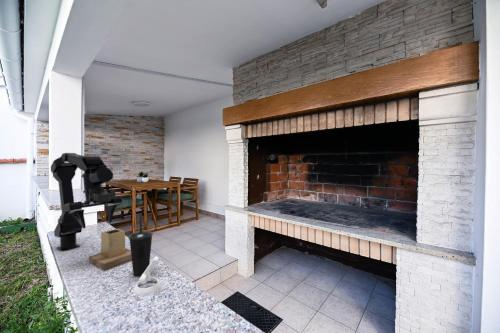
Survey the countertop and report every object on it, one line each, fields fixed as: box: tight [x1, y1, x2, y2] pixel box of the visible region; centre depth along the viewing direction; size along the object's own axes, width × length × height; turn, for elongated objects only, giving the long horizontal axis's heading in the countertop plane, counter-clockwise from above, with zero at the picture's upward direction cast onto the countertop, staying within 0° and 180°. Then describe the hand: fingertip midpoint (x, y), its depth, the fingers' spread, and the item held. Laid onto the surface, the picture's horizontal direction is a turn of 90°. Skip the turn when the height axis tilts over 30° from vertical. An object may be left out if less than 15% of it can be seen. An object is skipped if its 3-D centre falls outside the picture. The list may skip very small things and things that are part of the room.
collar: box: [100, 228, 126, 259], centre depth 86 cm, size 6×6×9 cm
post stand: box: [88, 247, 132, 272], centre depth 86 cm, size 12×12×6 cm
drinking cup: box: [128, 215, 154, 278], centre depth 75 cm, size 8×8×20 cm
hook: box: [133, 255, 162, 296], centre depth 66 cm, size 8×12×7 cm
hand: (97, 225), depth 86 cm, fingers open, 9 cm apart
